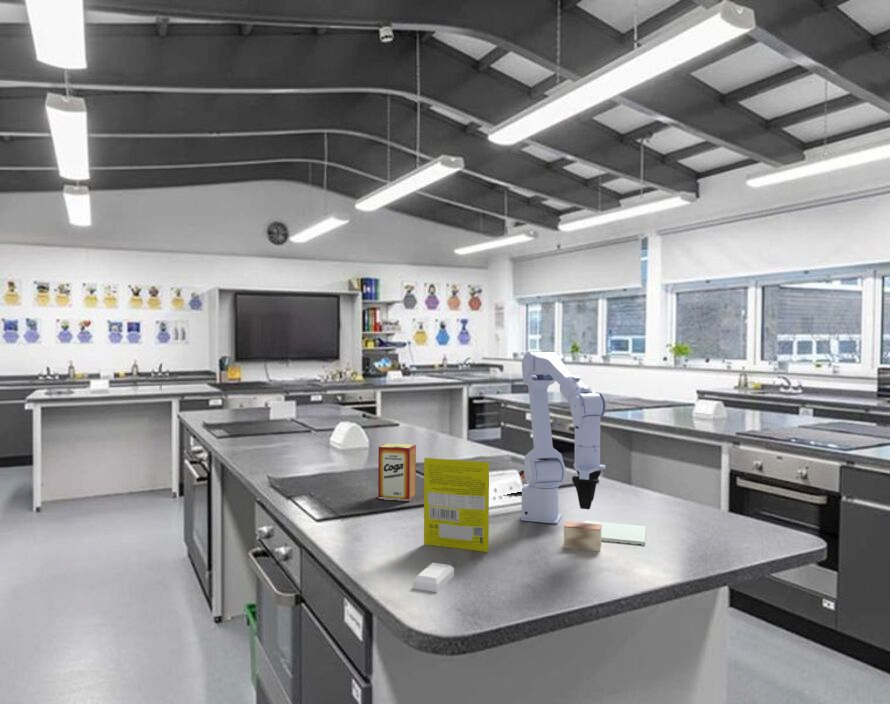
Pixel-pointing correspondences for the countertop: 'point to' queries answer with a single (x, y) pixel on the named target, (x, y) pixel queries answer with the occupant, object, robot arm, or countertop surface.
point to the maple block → (582, 535)
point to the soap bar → (433, 577)
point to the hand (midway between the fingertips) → (586, 504)
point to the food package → (456, 504)
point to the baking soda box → (397, 471)
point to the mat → (621, 532)
